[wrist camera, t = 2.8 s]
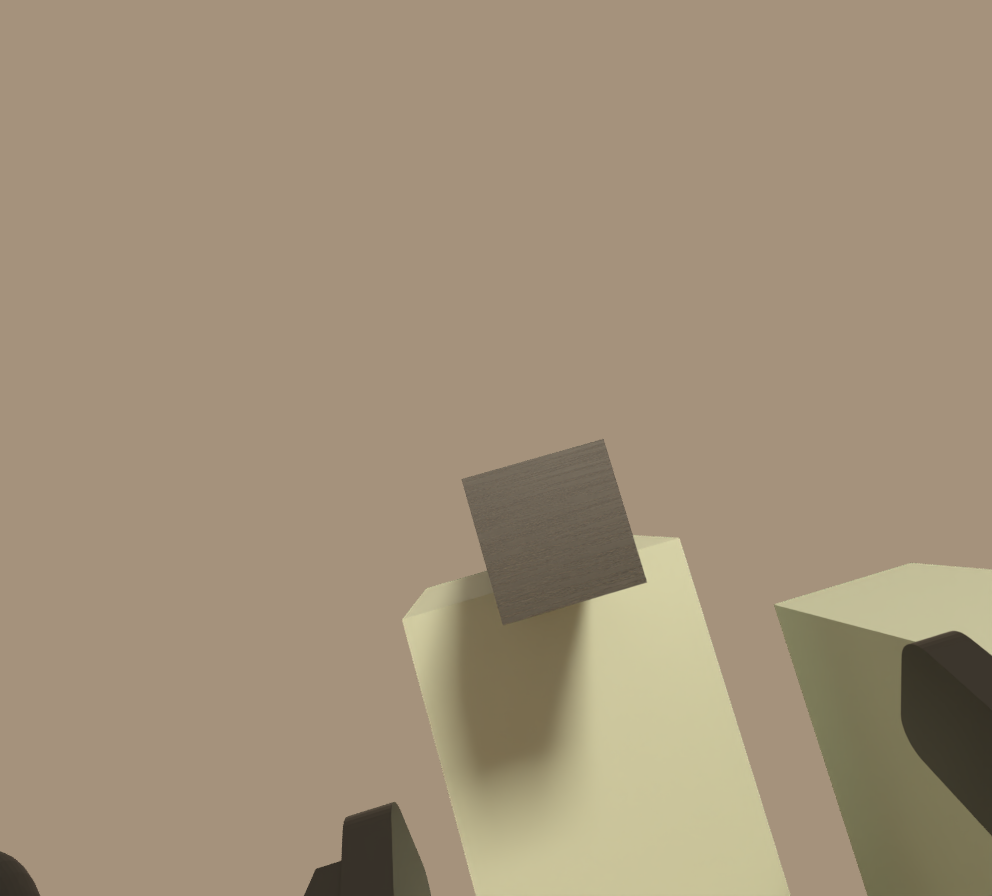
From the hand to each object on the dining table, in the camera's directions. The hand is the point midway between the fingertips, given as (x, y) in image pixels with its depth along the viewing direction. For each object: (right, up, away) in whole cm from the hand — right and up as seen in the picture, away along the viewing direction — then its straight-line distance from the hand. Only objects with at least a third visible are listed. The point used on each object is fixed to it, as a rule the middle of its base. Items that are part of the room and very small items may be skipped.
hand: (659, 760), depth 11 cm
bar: (-1, 0, +17) cm, 17 cm away
